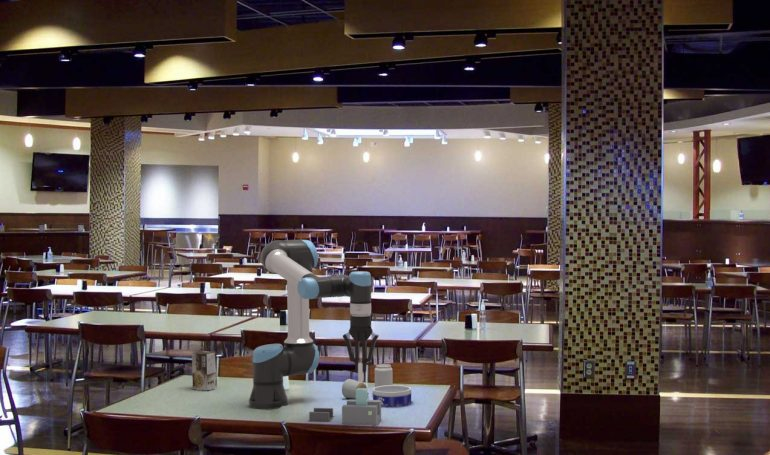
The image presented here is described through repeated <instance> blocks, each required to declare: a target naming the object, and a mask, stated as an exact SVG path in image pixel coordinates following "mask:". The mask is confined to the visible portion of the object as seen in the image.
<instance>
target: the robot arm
mask: <svg viewBox="0 0 770 455" xmlns="http://www.w3.org/2000/svg"><path fill="white" fill-rule="evenodd" d="M318 261H319V255H318V251H317V248H316V246H315V244H314V242H312V241H310V240H308V239H284V240H283V239H282V240H279V239H276V240H272V241H271V242H268V243H267V244H266V245H265V246H264V247H263V248H262V250H261V253H260V262H261V264H262V266H263V268H264V269H266V271H269V272H270V273H273V274H277V275H279V276H280V277H282V279H284V280H286V281H287V282H286V286H287V288H286V289H287V290H286V291H287V292H286V293H287V296H286V297H287V301H286V302H287V337H286V339H285V340H284V341H283V344H284V345H282V344H281V343H270V344H264V345H260V346H257V347H256V348H255V349H254V350H253V352H252V360H251V361H252V383H253V385H252V389H251V393H250V396H249V400H248V407H250V408H253V409H259V410H264V409H265V410H267V409H271V410H272V409H279V408H281V407H286V406H288V404H289V400H288V395H287V393H286V389H285V387H284V377H290V376H297V375H298V376H299V375H302V376H303V375H306V374H311V373H314V372H315V371H316V369H317V368H318V366H319V362H320V351H319V349H318V346H317V345H316V344H315V343H314V339H312V337H311V336H310V300H314V299H322V298H323V299H324V298H325V299H326V298H340V297H341V298H342V297H346V298H347V297H348V298H349V312H350V313H349V314H350V316H349V317H350V318H349V329H348V332H347V333H344V334H342V339H343V340H344V341H345V343H346V348H347V353H348V356H349V357H348V358H349V361H350V362H353V363H354V365H355V366H354V367H355V368H354V369H355V370H354V371H355V373H357V374H358V375H357V381H358V382H363V383H364V379H365V377H364V373H366V372H367V367H368V366H367V363H369V362H371V361H372V360H373V355H374V350H375V347H376V343H377V340H378V339H379V334H377V333H375V332H374V331H373V329H372V316H371V314H372V283H373V282H372V275H371V273H370V272H369V271H362V270H360V271H351V272H350V274H349V275H346V274H337V275H335V276H332V275H331V276H318V275H316V274H314V273H313V269H315V268H316V267H317V265H318V263H319V262H318ZM370 337H371V343H370V346H369V351H368V350H367V349H368V348H367V345H368V344H367V342H368V340H369V338H370ZM351 338H352V339H353V340H354V350H353V346H352V342H351ZM360 343H361V346H362V348H361V347H360ZM360 348H361V356H362V357H360ZM367 351H368V353H367ZM367 354H368V355H367ZM360 358H361V360H362V361H360Z"/></svg>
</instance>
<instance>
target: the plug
mask: <svg viewBox="0 0 770 455" xmlns="http://www.w3.org/2000/svg"><path fill="white" fill-rule="evenodd" d="M367 392H368V387H367V388H357V389H356V399H355V400H356V405H368V400H369V399H368V398H369V397H368V396H369V394H368V395H367Z"/></svg>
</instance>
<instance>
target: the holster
mask: <svg viewBox="0 0 770 455" xmlns="http://www.w3.org/2000/svg"><path fill="white" fill-rule="evenodd" d="M308 414H309V415H308V416H309V417H308V420H307V422H309V423H310V422H311V423H312V422H313V423H314V422H317V423H318V422H319V423H322V422H323V423H330V422H331V421H332V420H333V419H334V418H335V417H336V415H334V408H333V407H313V411H309V413H308Z"/></svg>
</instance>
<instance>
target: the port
mask: <svg viewBox="0 0 770 455" xmlns="http://www.w3.org/2000/svg"><path fill="white" fill-rule="evenodd" d="M341 417H342V418H341V421H342V422H341V424H342V425H370V426H371V425H372V426H371V428H377V427H378V425H379V424H380V422H381V421H382V407H381V400H373V399H368V405H356V399H347V400H346V404H343V405H342V406H341Z"/></svg>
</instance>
